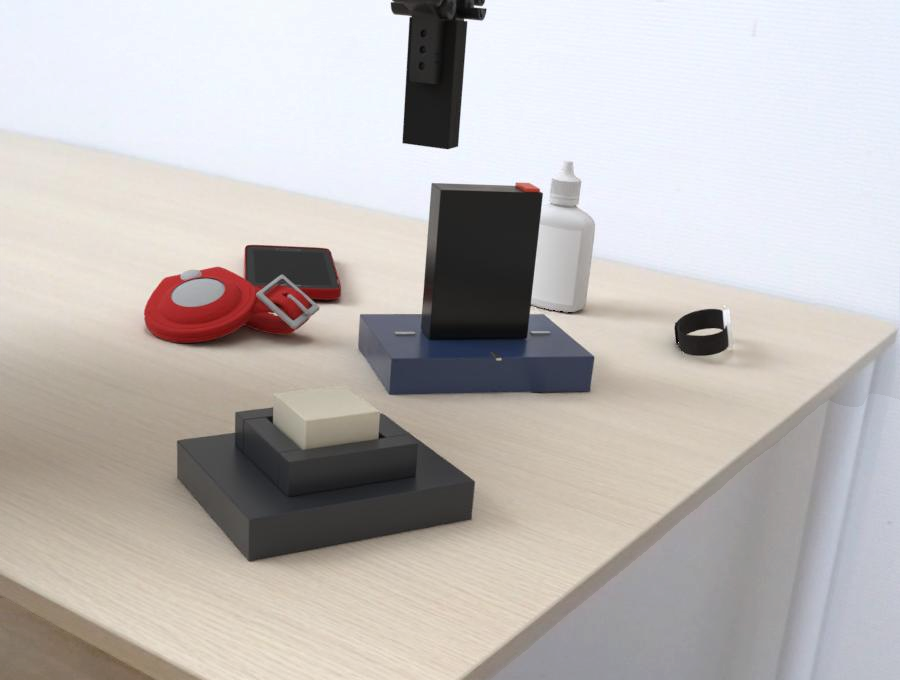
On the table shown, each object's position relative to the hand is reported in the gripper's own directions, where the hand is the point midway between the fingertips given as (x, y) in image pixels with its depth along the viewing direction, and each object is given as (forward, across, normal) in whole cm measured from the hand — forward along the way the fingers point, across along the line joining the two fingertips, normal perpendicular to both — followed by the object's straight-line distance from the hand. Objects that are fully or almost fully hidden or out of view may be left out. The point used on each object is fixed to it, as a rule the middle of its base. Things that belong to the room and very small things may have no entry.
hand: (430, 144), depth 64 cm
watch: (+17, +28, -12) cm, 35 cm away
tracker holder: (+17, +10, +19) cm, 27 cm away
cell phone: (+17, +26, +23) cm, 38 cm away
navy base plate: (+17, +12, +1) cm, 21 cm away
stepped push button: (+17, -12, 0) cm, 20 cm away
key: (+13, -12, 0) cm, 18 cm away
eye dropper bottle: (+17, +32, +1) cm, 37 cm away
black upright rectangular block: (+14, +13, +1) cm, 19 cm away
